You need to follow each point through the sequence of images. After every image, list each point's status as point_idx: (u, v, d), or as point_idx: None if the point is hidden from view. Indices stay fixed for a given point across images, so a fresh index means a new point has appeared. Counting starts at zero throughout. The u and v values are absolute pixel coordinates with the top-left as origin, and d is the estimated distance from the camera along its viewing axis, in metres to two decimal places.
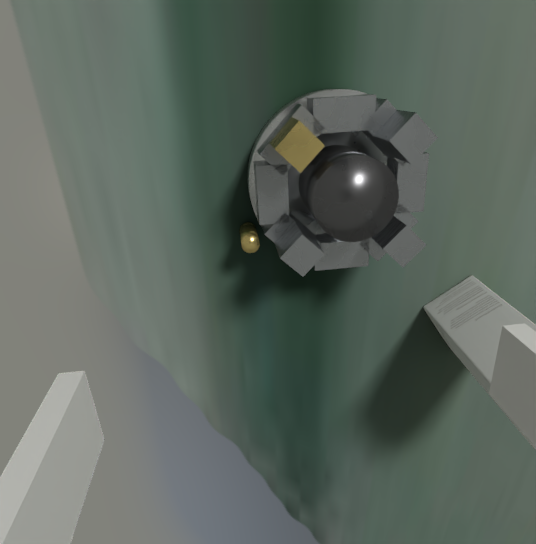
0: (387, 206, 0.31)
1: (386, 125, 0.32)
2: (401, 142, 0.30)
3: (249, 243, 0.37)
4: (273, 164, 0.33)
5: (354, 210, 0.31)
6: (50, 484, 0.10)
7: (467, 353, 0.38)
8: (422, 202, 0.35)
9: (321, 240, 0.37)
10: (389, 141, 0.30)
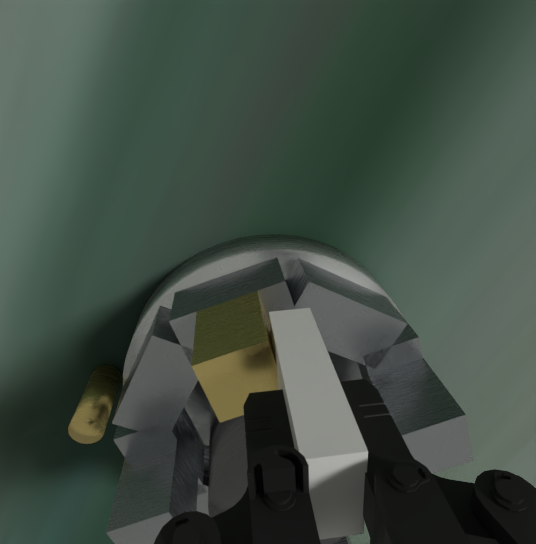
0: None
1: (398, 378, 0.18)
2: (416, 445, 0.16)
3: (84, 428, 0.20)
4: (185, 347, 0.17)
5: None
6: None
7: None
8: None
9: (207, 472, 0.21)
10: None
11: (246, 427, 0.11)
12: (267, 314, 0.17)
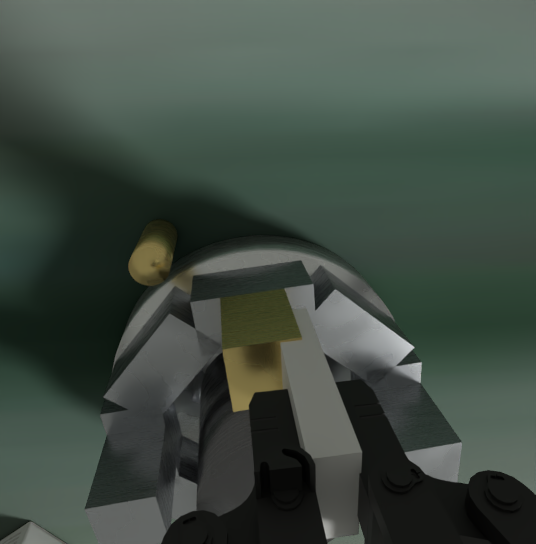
0: None
1: (396, 399, 0.18)
2: None
3: (151, 265, 0.17)
4: (199, 331, 0.17)
5: None
6: None
7: None
8: None
9: (183, 464, 0.20)
10: None
11: (252, 426, 0.11)
12: None
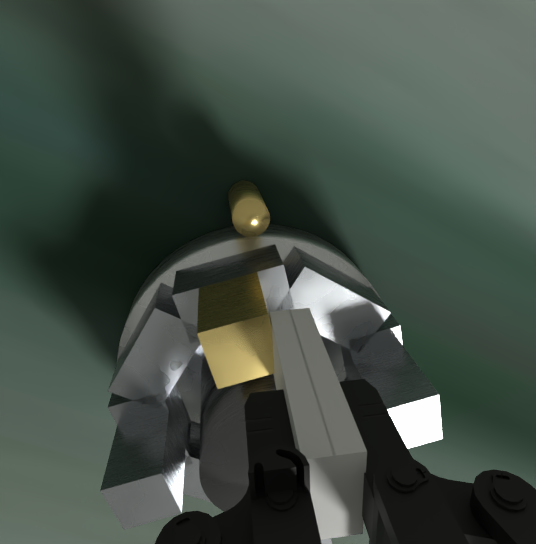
0: None
1: (379, 362, 0.19)
2: (394, 421, 0.17)
3: (254, 217, 0.18)
4: (185, 321, 0.18)
5: None
6: None
7: None
8: None
9: (193, 445, 0.22)
10: None
11: (247, 427, 0.11)
12: (264, 295, 0.18)
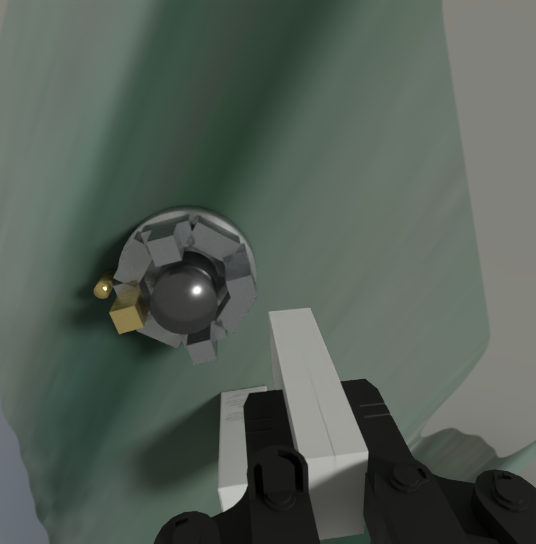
0: (204, 319, 0.41)
1: None
2: (161, 259, 0.39)
3: (101, 290, 0.44)
4: None
5: (179, 311, 0.41)
6: None
7: (221, 443, 0.48)
8: (232, 241, 0.42)
9: (217, 315, 0.46)
10: None
11: (246, 427, 0.11)
12: (127, 292, 0.43)
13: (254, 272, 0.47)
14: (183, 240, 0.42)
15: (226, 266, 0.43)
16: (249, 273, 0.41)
